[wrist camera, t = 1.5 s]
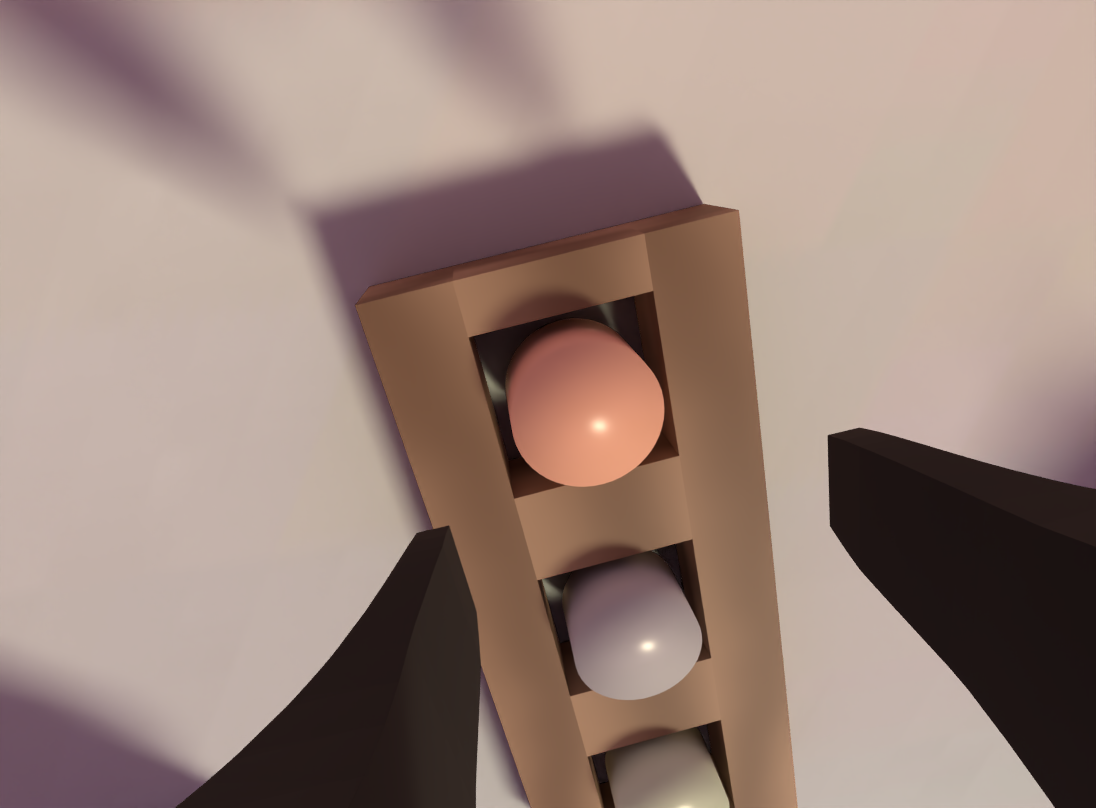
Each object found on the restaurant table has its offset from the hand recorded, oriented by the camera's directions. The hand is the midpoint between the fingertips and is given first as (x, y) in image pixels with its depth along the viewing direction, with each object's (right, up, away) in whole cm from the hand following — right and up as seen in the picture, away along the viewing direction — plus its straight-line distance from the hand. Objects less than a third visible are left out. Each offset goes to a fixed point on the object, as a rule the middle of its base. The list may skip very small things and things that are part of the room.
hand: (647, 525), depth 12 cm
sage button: (+2, -12, +13) cm, 17 cm away
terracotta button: (-1, +3, +7) cm, 8 cm away
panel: (0, -4, +11) cm, 12 cm away
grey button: (+1, -4, +10) cm, 11 cm away
